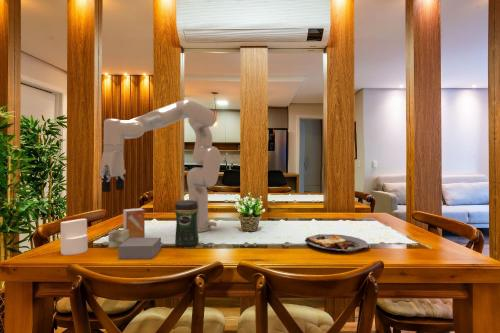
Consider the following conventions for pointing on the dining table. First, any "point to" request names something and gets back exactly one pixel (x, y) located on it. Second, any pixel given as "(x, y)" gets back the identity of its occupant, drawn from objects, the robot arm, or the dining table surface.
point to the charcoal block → (139, 248)
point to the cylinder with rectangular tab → (74, 237)
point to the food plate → (336, 242)
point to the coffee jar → (186, 223)
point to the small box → (134, 222)
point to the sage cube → (118, 237)
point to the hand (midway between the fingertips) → (113, 190)
